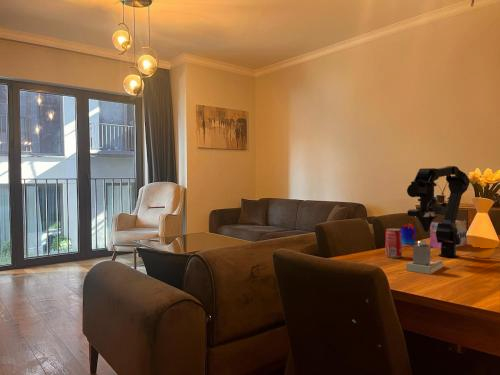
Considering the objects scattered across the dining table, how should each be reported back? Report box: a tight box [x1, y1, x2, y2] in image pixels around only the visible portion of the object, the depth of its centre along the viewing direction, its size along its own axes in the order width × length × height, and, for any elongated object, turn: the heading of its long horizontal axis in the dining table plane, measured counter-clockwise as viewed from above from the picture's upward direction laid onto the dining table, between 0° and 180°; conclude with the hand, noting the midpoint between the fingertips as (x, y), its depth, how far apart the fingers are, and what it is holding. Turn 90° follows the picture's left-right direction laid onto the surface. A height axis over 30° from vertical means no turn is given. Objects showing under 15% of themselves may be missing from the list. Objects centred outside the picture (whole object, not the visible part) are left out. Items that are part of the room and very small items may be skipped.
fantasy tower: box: [400, 223, 417, 248], centre depth 212 cm, size 12×12×12 cm
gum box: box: [429, 219, 468, 250], centre depth 209 cm, size 24×8×14 cm, turn 123°
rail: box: [405, 259, 445, 275], centre depth 159 cm, size 17×9×3 cm, turn 137°
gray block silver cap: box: [412, 240, 432, 266], centre depth 155 cm, size 5×5×10 cm
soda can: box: [385, 228, 403, 259], centre depth 181 cm, size 7×7×13 cm
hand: (426, 231), depth 173 cm, fingers closed
